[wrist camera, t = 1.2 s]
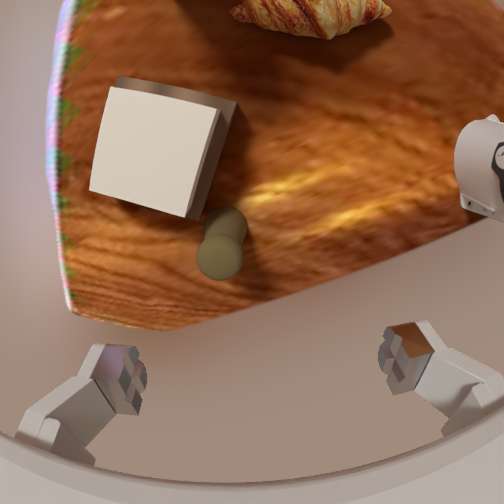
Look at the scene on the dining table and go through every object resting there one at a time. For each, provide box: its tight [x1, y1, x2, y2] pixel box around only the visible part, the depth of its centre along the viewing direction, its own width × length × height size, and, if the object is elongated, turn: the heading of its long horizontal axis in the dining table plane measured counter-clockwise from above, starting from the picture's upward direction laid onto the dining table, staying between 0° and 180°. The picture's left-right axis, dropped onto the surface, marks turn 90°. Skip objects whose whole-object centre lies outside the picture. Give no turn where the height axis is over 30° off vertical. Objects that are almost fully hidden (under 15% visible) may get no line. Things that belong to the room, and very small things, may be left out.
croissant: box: [230, 0, 392, 40], centre depth 24 cm, size 21×10×8 cm
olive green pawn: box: [196, 206, 247, 280], centre depth 35 cm, size 6×6×11 cm
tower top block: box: [89, 87, 221, 218], centre depth 29 cm, size 12×12×4 cm
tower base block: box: [114, 76, 238, 221], centre depth 33 cm, size 15×15×5 cm
